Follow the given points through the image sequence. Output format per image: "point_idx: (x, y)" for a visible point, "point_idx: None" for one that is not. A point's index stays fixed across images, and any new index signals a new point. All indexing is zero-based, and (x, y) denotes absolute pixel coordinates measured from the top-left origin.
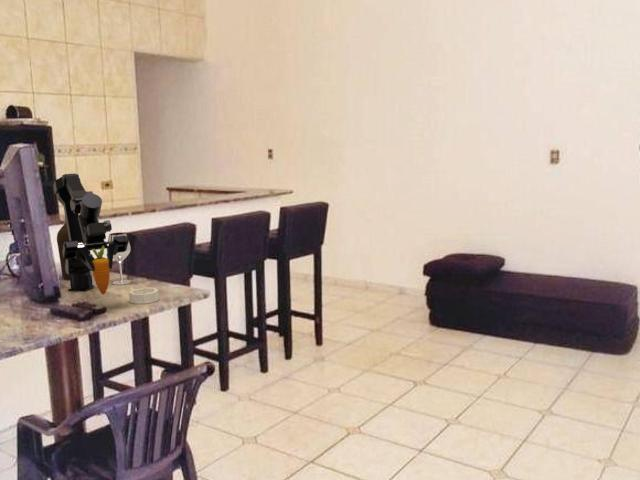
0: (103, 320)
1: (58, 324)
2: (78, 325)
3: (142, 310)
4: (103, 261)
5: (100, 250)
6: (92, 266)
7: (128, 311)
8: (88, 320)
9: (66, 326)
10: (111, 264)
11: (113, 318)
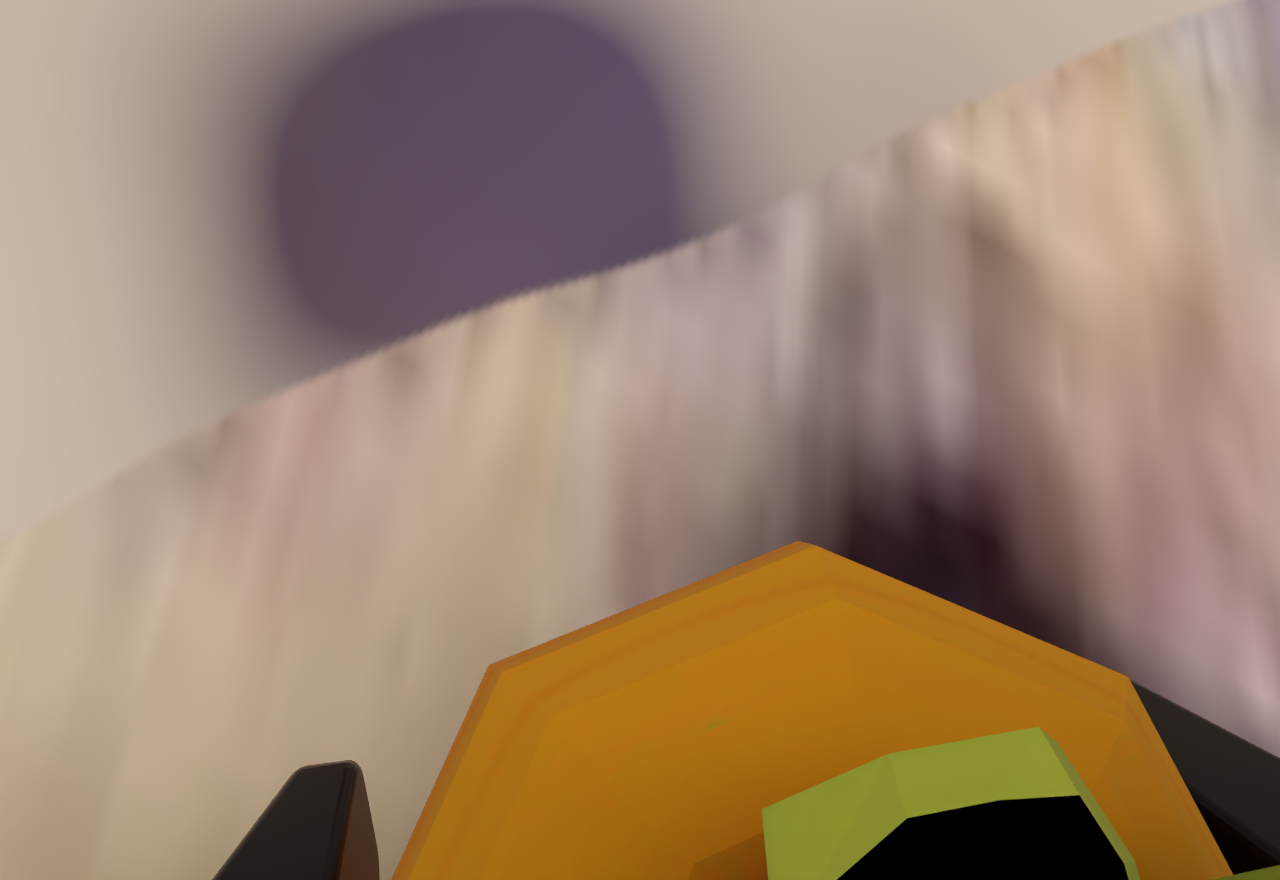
0: (685, 364)
1: (1238, 489)
2: (991, 314)
3: (74, 576)
4: (694, 600)
5: (1117, 856)
6: None
7: (282, 634)
8: (872, 468)
9: (1131, 349)
10: (280, 840)
11: (550, 385)
